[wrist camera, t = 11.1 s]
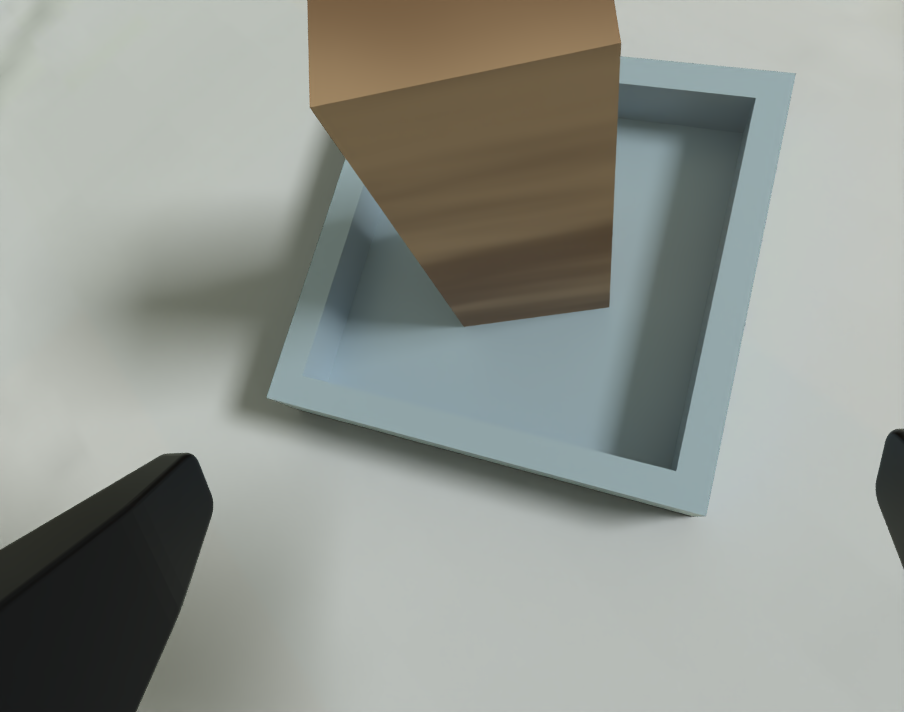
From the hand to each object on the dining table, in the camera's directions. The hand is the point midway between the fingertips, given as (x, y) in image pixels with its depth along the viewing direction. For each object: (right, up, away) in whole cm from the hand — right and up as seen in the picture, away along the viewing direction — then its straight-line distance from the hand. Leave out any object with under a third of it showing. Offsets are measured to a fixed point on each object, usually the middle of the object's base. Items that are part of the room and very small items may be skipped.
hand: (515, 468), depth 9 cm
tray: (+2, +5, +15) cm, 16 cm away
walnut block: (+2, +5, +14) cm, 15 cm away
